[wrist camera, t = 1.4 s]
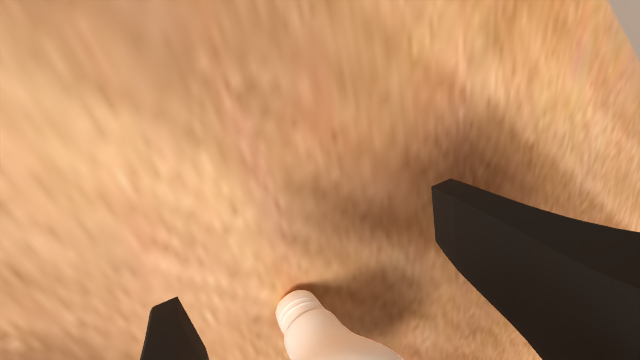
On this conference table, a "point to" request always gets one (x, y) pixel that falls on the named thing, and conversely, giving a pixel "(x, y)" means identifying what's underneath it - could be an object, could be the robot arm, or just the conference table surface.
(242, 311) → the conference table surface
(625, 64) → the conference table surface
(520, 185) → the conference table surface
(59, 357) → the conference table surface
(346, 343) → the lightbulb
